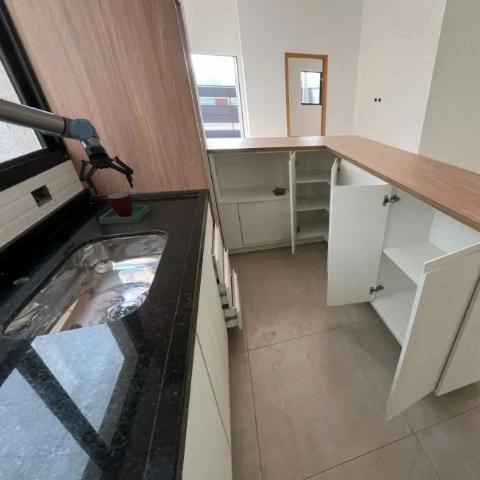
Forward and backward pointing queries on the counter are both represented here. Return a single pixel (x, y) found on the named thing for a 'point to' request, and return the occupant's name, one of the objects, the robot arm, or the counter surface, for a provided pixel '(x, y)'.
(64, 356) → the counter surface
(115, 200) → the mug
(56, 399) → the counter surface
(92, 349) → the counter surface
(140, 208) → the tray
